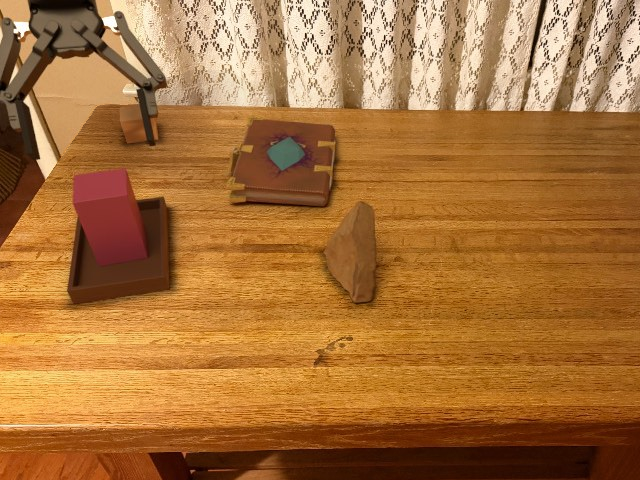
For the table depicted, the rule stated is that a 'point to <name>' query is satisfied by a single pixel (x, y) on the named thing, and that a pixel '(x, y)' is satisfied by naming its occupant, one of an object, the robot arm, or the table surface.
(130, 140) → the base block
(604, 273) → the table surface
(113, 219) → the top block
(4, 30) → the robot arm
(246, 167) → the book
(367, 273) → the rock
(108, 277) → the tray
